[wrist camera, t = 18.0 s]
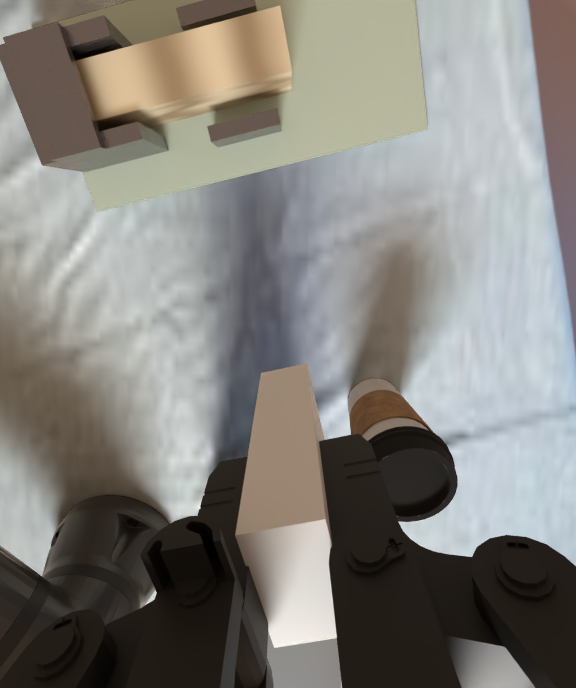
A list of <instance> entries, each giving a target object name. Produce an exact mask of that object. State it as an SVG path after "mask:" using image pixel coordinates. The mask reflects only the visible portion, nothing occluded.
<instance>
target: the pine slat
mask: <svg viewBox="0 0 576 688" xmlns="http://www.w3.org/2000/svg"><path fill="white" fill-rule="evenodd" d="M75 62H76V65H77V68H78V70H79V73H80V76H81V79H82V82H83V85H84V88H85V91H86V94H87V97H88V100H89V102H90V105H91V108H92V111H93V114H94V117H95V120H96V123H97V126H98V129H99V131H104V130H107V129H111V128H115V127H119V126H123V125H126V124H130V123H134V122H139V123H141V124H143V125H144V126H146V127H148V128H151V127H155V126H159V125H163V124H167V123H170V122H174V121H178V120H182V119H186V118H190V117H194V116H198V115H202V114H206V113H210V112H214V111H218V110H221V109H225V108H229V107H233V106H237V105H241V104H245V103H249V102H253V101H257V100H261V99H265V98H269V97H272V96H276V95H280V94H284V93H288V92H291V88H292V67H291V62H290V56H289V51H288V46H287V40H286V35H285V30H284V24H283V19H282V13H281V8H280V6H276V7H272V8H269V9H265V10H261V11H258V12H254V13H250V14H247V15H243V16H239V17H235V18H232V19H228V20H224V21H221V22H217V23H213V24H210V25H206V26H202V27H199V28H195V29H191V30H188V31H184V32H180V33H177V34H173V35H169V36H166V37H162V38H158V39H154V40H151V41H147V42H143V43H140V44H136V45H132V46H129V47H125V48H121V49H118V50H114V51H110V52H107V53H103V54H99V55H96V56H92V57H88V58H84V59H81V60H77V61H75Z"/></svg>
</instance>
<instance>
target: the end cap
mask: <svg viewBox="0 0 576 688" xmlns="http://www.w3.org/2000/svg"><path fill="white" fill-rule="evenodd" d="M3 39H4V42H5V44H2V45H0V60H1V63H2V65H3V68H4V71H5V73H6V76H7V78H8V81H9V83H10V86H11V88H12V91H13V93H14V96H15V98H16V101H17V103H18V106H19V108H20V111H21V113H22V116H23V118H24V121H25V123H26V126H27V128H28V131H29V133H30V136H31V138H32V141H33V143H34V146H35V149H36V151H37V154H38V156H39V159H40V161H41V164H42V165H43V166H50V167H56V168H62V169H69V170H75V171H81V172H89V171H92V170H96V169H100V168H104V167H108V166H112V165H116V164H120V163H123V162H127V161H131V160H135V159H139V158H143V157H147V156H151V155H154V154H158V153H162V152H166V151H169V149H168V146H167V143H166V139H165V136H163V135H161V134H159V133H157V132H155V131H154V130H152V129H150V128H148V127H146V126H144V125H143V124H141V123H139V122H134V123H130V124H126V125H123V126H119V127H115V128H111V129H107V130H104V131H99V129H98V126H97V123H96V120H95V117H94V114H93V111H92V108H91V105H90V102H89V100H88V97H87V94H86V91H85V88H84V85H83V82H82V79H81V76H80V73H79V70H78V68H77V65H76V62H75V61H77V60H81V59H84V58H88V57H92V56H96V55H99V54H103V53H107V52H110V51H114V50H118V49H121V48H125V47H129V46H132V45H133V44H132V43H131V42H130V41H129V40H128V39H127V38H126V37H125V36H124V35H123V34H122V33H121V32H120V31H119V30H118V29H117V28H116V27H115V26H114V25H113V24H112V23H111V22H110V21H109V20H108V19H107V18H106V17H105V16H104V15H102V16H99V17H96V18H92V19H89V20H85V21H82V22H78V23H75V24H71V25H68V26H64V27H63V26H62V25H61V24H59V23H58V22H55V23H51V24H48V25H44V26H41V27H37V28H34V29H30V30H27V31H24V32H20V33H17V34H13V35H10V36H6V37H3Z"/></svg>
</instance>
